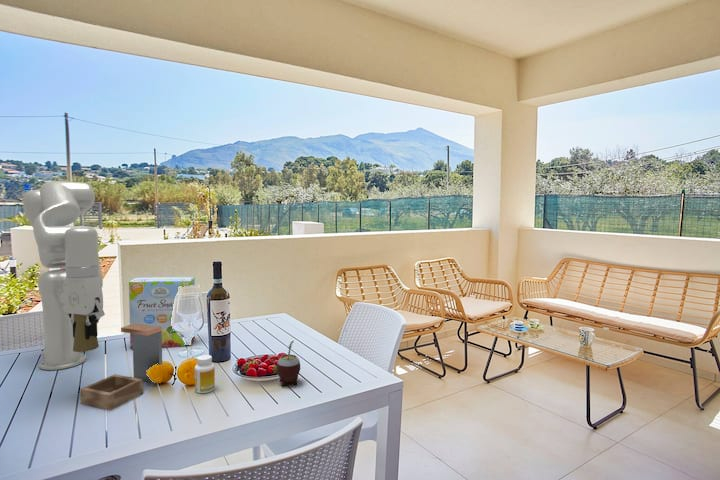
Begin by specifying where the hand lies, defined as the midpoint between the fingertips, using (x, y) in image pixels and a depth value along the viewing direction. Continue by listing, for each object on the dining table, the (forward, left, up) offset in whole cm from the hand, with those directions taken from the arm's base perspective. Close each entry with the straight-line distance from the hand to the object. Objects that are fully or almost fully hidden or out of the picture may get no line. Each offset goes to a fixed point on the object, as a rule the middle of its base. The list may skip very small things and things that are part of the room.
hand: (85, 336), depth 112 cm
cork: (0, 0, -3) cm, 3 cm away
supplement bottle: (+29, +13, -17) cm, 36 cm away
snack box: (-11, +39, -17) cm, 44 cm away
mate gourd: (+50, +25, -17) cm, 59 cm away
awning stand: (+9, +10, -16) cm, 21 cm away
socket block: (+9, 0, -16) cm, 19 cm away
